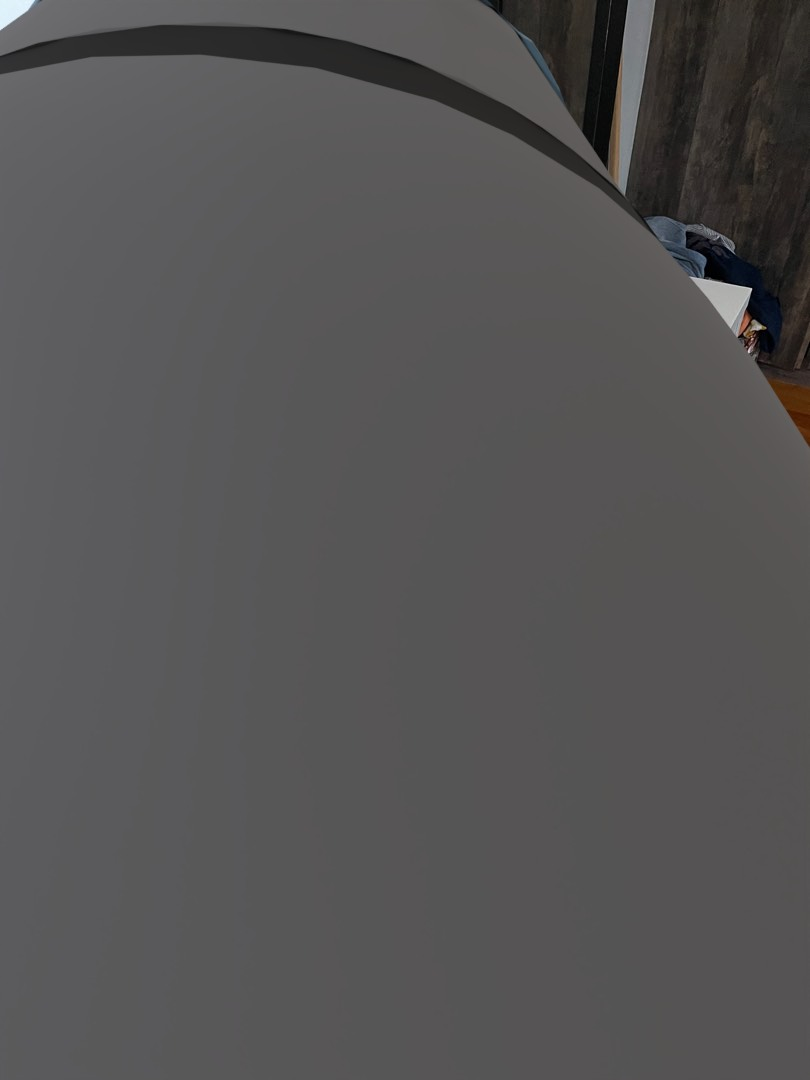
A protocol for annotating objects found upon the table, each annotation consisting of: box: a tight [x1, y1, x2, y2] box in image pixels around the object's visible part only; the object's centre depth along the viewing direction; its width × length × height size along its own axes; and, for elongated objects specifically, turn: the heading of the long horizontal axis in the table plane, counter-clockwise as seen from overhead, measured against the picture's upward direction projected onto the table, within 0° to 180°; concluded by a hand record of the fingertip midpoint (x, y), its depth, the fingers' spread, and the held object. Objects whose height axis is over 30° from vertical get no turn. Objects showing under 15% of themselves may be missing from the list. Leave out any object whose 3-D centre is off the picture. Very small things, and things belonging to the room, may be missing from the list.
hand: (515, 613), depth 56 cm, fingers open, 13 cm apart
